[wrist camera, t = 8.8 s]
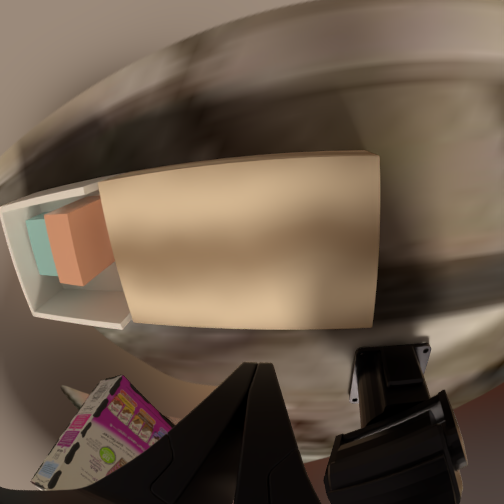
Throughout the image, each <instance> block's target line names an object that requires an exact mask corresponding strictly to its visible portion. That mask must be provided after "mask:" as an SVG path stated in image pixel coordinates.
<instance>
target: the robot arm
mask: <svg viewBox="0 0 504 504" xmlns="http://www.w3.org/2000/svg"><path fill="white" fill-rule="evenodd" d="M426 348H427V349H426ZM424 349H426V350H424ZM430 352H431V347H430V345H429V344H428V343H422V344H411V345H398V346H384V347H366V348H359V349H357V351H356V353H355V361H354V368H353V376H352V383H351V390H350V396H349V400H350V402H351V403H354V404H355V403H359V408H360V420H361V429H358V430H355V431H352V432H350V433H347V434H341V435H338V436H336V438H335V442H334V445H333V449H332V452H331V455H330V459H329V462H328V465H327V469H326V473H325V476H324V484H325V489H326V493H327V496H328V499H329V501H330V503H331V504H459V503H460V499H461V494H462V490H463V483H462V479H461V475H460V471H459V470H460V469H462V468H464V467H466V466H468V463H467V457H466V452H465V447H464V442H463V439H462V435H461V432H460V429H459V426H458V423H457V420H456V417H455V414H454V412H453V409H452V407H451V404H450V402H449V399H448V397H447V394H446V392H445V390H442V391H441V392H439V393H438V394H437V395H435V396H434V397H432V398H430V394H429V391H428V388H427V385H426V382H425V378H424V372H425V369H426V366H427V363H428V359H429V356H430ZM361 353H364V354H363V355H360V354H361ZM354 398H355V399H354ZM233 500H234V504H321V502H320V500H319V498H318V496H317V494H316V492H315V491H314V489H313V486H312V484H311V482H310V480H309V478H308V475H307V472H306V470H305V467H304V464H303V461H302V458H301V455H300V452H299V450H298V446H297V442H296V439H295V436H294V432H293V429H292V426H291V423H290V419H289V416H288V413H287V409H286V406H285V403H284V399H283V396H282V393H281V389H280V386H279V383H278V379H277V376H276V373H275V369H274V366H273V364H272V363H263V362H260V363H259V364H258V363H256V362H243V363H242V364H241V365H240V366H239V367H238V368H237V369H236V370H235V371H234V372H233V373H232V374H231V375H230V376H229V377H228V378H226V379H225V380H224V381H223V382H222V383H221V384H220V385H219V386H218V387H217V388H216V389H215V390H214V391H213V392H212V393H211V394H210V395H208V396H207V398H205V399H204V400H203V401H202V402H201V403H200V404H199V405H198V406H197V407H195V408H194V409H193V410H192V411H191V412H190V413H189V414H188V415H187V416H186V417H184V418H183V419H182V420H181V421H180V422H179V423H178V424H176V425H175V426H174V427H173V428H172V429H171V430H170V431H168V434H165V435H164V436H163V437H161V438H160V439H159V440H158V441H157V442H155V443H154V444H153V445H152V446H150V447H149V448H148V449H147V450H145V451H144V452H143V453H141V454H140V455H138V456H137V457H135V458H134V459H133V460H131V461H130V462H128V463H126V464H125V465H123V466H122V467H120V468H118V469H117V470H115V471H114V472H112V473H110V474H109V475H107V476H105V477H104V478H102V479H100V480H98V481H97V482H95V483H93V484H91V485H88V486H85V487H82V488H78V489H70V490H38V491H37V490H33V491H32V490H10V489H6V488H2V487H0V504H232V503H233Z"/></svg>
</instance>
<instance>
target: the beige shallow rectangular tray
mask: <svg viewBox="0 0 504 504" xmlns="http://www.w3.org/2000/svg"><path fill="white" fill-rule="evenodd" d="M98 187H99V192H100V198H101V203H102V207H103V212H104V217H105V221H106V226H107V230H108V234H109V239H110V243H111V247H112V251H113V255H114V258H115V262H116V266H117V269H118V273H119V277H120V280H121V284H122V287H123V290H124V294H125V297H126V300H127V303H128V307H129V310H130V313H131V316H132V319H133V322H136V323H147V324H159V325H173V326H189V327H207V328H232V329H283V330H298V329H349V328H372V324H373V315H374V306H375V296H376V285H377V272H378V257H379V236H380V156H378V155H376V154H373V153H371V152H368V151H366V150H352V151H315V152H295V153H279V154H265V155H253V156H242V157H231V158H222V159H213V160H205V161H197V162H189V163H182V164H174V165H168V166H161V167H155V168H149V169H143V170H137V171H131V172H128V173H124V174H121V175H118V176H115V177H112V178H109V179H106V180H103V181H100V182H98Z"/></svg>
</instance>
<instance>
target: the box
mask: <svg viewBox="0 0 504 504" xmlns="http://www.w3.org/2000/svg"><path fill="white" fill-rule="evenodd" d="M125 173H126V172H125ZM121 174H124V173H120V174H115V175H110V176H105V177H100V178H95V179H90V180H85V181H81V182H76V183H72V184H68V185H63V186H59V187H55V188H51V189H47V190H43V191H39V192H36V193H33V194H31V195H28V196H25V197H23V198H20V199H18V200H15V201H13V202H10V203H8V204H5V205H3V206H0V218H1V222H2V226H3V230H4V234H5V237H6V241H7V244H8V247H9V251H10V254H11V258H12V261H13V264H14V267H15V270H16V273H17V275H18V278H19V281H20V284H21V287H22V289H23V292H24V295H25V297H26V300H27V302H28V305H29V307H30V309H31V312H32V314H33V316H35V317H40V318H46V319H52V320H58V321H64V322H70V323H77V324H84V325H90V326H97V327H105V328H113V329H121V330H123V329H124V327H125V326H126V325H127V324H128V323H129V321H130V320H131V319H132V316H131V313H130V310H129V307H128V303H127V300H126V297H125V294H124V290H123V287H122V284H121V280H120V277H119V273H118V269H117V266H116V262H113V263H112V264H111V265H110V266H108V267H107V268H106V269H105V270H103V271H102V272H101V273H100V274H98V275H97V276H96V277H95V278H93V279H92V280H91V281H90V282H88V283H87V284H86V285H85V286H77V285H70V284H64V283H60V281H59V277H58V276H48V275H40V274H39V270H38V267H37V264H36V260H35V257H34V253H33V249H32V246H31V242H30V238H29V234H28V230H27V225H26V220H28V219H30V218H32V217H34V216H36V215H39V214H41V213H43V212H51V211H54V210H56V209H58V208H60V207H63V206H65V205H67V204H70V203H72V202H74V201H77V200H79V199H82V198H84V197H87V196H98V195H100V192H99V187H98V182H100V181H103V180H106V179H109V178H112V177H115V176H118V175H121Z"/></svg>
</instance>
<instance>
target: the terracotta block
mask: <svg viewBox="0 0 504 504" xmlns="http://www.w3.org/2000/svg"><path fill="white" fill-rule="evenodd" d="M44 219H45V224H46V229H47V233H48V238H49V242H50V247H51V251H52V255H53V259H54V263H55V266H56V270H57V274H58V277H59V281H60V283H64V284H70V285H77V286H85V285H86V284H87V283H88V282H90V281H91V280H92V279H93V278H95V277H96V276H97V275H98V274H100V273H101V272H102V271H103V270H105V269H106V268H107V267H108V266H110V265H111V264H112V263H113V262H115V258H114V255H113V251H112V247H111V243H110V239H109V234H108V230H107V226H106V221H105V217H104V212H103V207H102V203H101V198H100V195H98V196H87V197H84V198H82V199H79V200H77V201H74V202H72V203H70V204H67V205H65V206H63V207H60V208H58V209H56V210H54V211H51V212H49V213H47V214H45V215H44Z"/></svg>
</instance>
